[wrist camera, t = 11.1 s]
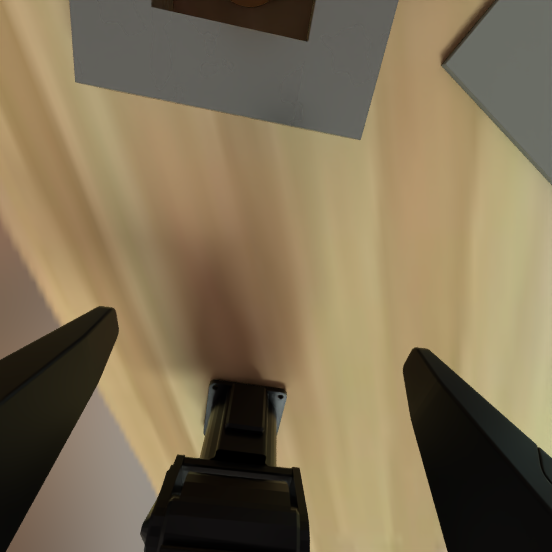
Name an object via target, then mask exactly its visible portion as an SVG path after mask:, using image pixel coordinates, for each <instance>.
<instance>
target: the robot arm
mask: <svg viewBox="0 0 552 552" xmlns="http://www.w3.org/2000/svg"><path fill="white" fill-rule="evenodd" d="M118 332H119V327H118V321H117V315H116V310H115V309H114V308H112V307H104V306H99V307H97V308H95V309H93V310H91V311H89V312H87V313H86V314H84V315H82V316H80V317H78V318H76V319H75V320H73V321H71V322H69V323H67V324H65V325H63V326H62V327H60V328H58V329H56V330H54V331H52V332H51V333H49V334H47V335H45V336H43V337H41V338H40V339H38V340H36V341H34V342H32V343H30V344H29V345H27V346H25V347H23V348H21V349H19V350H17V351H16V352H14V353H12V354H10V355H8V356H6V357H5V358H3V359H1V360H0V552H6V550H7V548H8V547H9V545H10V543H11V541H12V539H13V538H14V536H15V534H16V532H17V530H18V528H19V527H20V525H21V523H22V521H23V519H24V518H25V516H26V514H27V512H28V510H29V508H30V507H31V505H32V503H33V501H34V499H35V497H36V496H37V494H38V492H39V490H40V488H41V487H42V485H43V483H44V481H45V479H46V477H47V476H48V474H49V472H50V470H51V468H52V467H53V465H54V463H55V461H56V459H57V458H58V456H59V454H60V452H61V450H62V448H63V446H64V445H65V443H66V441H67V439H68V438H69V436H70V434H71V432H72V430H73V428H74V427H75V425H76V423H77V421H78V419H79V417H80V416H81V414H82V412H83V410H84V408H85V407H86V405H87V403H88V401H89V399H90V397H91V396H92V394H93V392H94V390H95V388H96V386H97V384H98V382H99V380H100V378H101V376H102V373H103V371H104V368H105V366H106V363H107V361H108V358H109V356H110V354H111V351H112V349H113V346H114V344H115V341H116V339H117V336H118ZM403 376H404V382H405V388H406V394H407V400H408V406H409V412H410V417H411V421H412V425H413V429H414V433H415V436H416V440H417V443H418V447H419V451H420V454H421V458H422V461H423V465H424V469H425V472H426V476H427V479H428V483H429V486H430V490H431V494H432V497H433V501H434V504H435V508H436V512H437V515H438V519H439V522H440V526H441V530H442V533H443V537H444V540H445V544H446V548H447V551H448V552H552V458H551V457H550V456H549V455H548V454H547V453H546V452H544V451H543V450H542V449H541V448H539V447H537V445H536V444H535V443H534V442H533V441H532V440H531V439H530V438H528V437H527V436H526V435H525V434H524V433H523V432H522V431H521V430H519V429H518V428H517V427H516V426H515V425H514V424H513V423H511V422H510V421H509V420H508V419H507V418H506V417H505V416H504V415H502V414H501V413H500V412H499V411H498V410H497V409H496V408H495V407H493V406H492V405H491V404H490V403H489V402H488V401H487V400H485V399H484V398H483V397H482V396H481V395H480V394H479V393H478V392H476V391H475V390H474V389H473V388H472V387H471V386H470V385H468V384H467V383H466V382H465V381H464V380H463V379H462V378H461V377H459V376H458V375H457V374H456V373H455V372H454V371H453V370H452V369H450V368H449V367H448V366H447V365H446V364H445V363H444V362H442V361H441V360H440V359H439V358H438V357H437V356H436V355H435V354H433V353H432V352H431V351H430V350H428V349H426V348H418V347H416V348H413V349H412V351H411V353H410V354H409V356H408V358H407V360H406V362H405V363H404V366H403ZM214 385H216V386H214ZM280 395H282V396H280ZM286 398H287V392H286V391H285V390H284V389H279V388H272V387H265V386H258V385H251V384H244V383H237V382H230V381H223V380H212V381H211V382H210V386H209V392H208V400H207V408H206V416H205V425H204V435H205V438H204V442H203V447H202V451H201V455H200V458H192V457H185V455H177V457H176V459H175V462H174V464H173V465H171V467H170V469H169V470H168V471H167V473H166V476H165V479H164V482H163V485H162V488H161V491H160V493H159V496H158V498H157V500H156V502H155V503H154V505H153V507H152V508H151V510H150V512H149V514H148V515H147V517H146V519H145V521H144V522H143V525H142V528H141V533H140V535H141V537H142V539H143V541H144V544H145V548H144V552H310V532H309V520H308V513H307V507H306V502H305V496H304V490H303V485H302V479H301V473H300V468H297V467H292V468H283V467H276V436H277V432H278V429H279V425H280V421H281V417H282V413H283V410H284V406H285V402H286Z"/></svg>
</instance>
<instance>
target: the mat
mask: <svg viewBox="0 0 552 552" xmlns="http://www.w3.org/2000/svg"><path fill="white" fill-rule="evenodd" d="M441 66H442V67H443V68H444V69H445V70H446V71H447V72H448V73H449V74H450V76H451V77H452V78H453V79H454V80H455V81H456V82H457V83H458V84H459V85H460V86H461V87H462V89H463V90H464V91H465V92H466V93H467V94H468V95H469V96H470V97H471V98H472V99H473V100H474V101H475V103H476V104H477V105H478V106H479V107H480V108H481V109H482V110H483V111H484V112H485V113H486V114H487V116H488V117H489V118H490V119H491V120H492V121H493V122H494V123H495V124H496V125H497V126H498V127H499V128H500V130H501V131H502V132H503V133H504V134H505V135H506V136H507V137H508V138H509V139H510V140H511V141H512V143H513V144H514V145H515V146H516V147H517V148H518V149H519V150H520V151H521V152H522V153H523V154H524V156H525V157H526V158H527V159H528V160H529V161H530V162H531V163H532V164H533V165H534V166H535V167H536V168H537V170H538V171H539V172H540V173H541V174H542V175H543V176H544V177H545V178H546V179H547V180H548V181H549V183H550V184H551V185H552V0H495V1H494V3H493V4H492V5H491V6H490V8H489V9H488V10H487V11H486V12H485V14H484V15H483V16H482V17H481V18H480V20H479V21H478V22H477V23H476V24H475V26H474V27H473V28H472V29H471V30H470V32H469V33H468V34H467V35H466V36H465V38H464V39H463V40H462V41H461V42H460V44H459V45H458V46H457V47H456V48H455V50H454V51H453V52H452V53H451V54H450V56H449V57H448V58H447V59H446V61H445V62H444V63H443V64H442V65H441Z"/></svg>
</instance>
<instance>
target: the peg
mask: <svg viewBox="0 0 552 552" xmlns="http://www.w3.org/2000/svg"><path fill="white" fill-rule="evenodd" d="M230 1H232V2H234V3H235V4H237V5H240V6H244V7H256V6H260V5H263V4H265V3H267V2H268V1H269V0H230Z"/></svg>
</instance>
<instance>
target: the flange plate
mask: <svg viewBox="0 0 552 552" xmlns="http://www.w3.org/2000/svg"><path fill="white" fill-rule="evenodd" d="M69 2H70V16H71V30H72V44H73V57H74V71H75V82H77V83H81V84H86V85H90V86H95V87H99V88H104V89H109V90H114V91H119V92H124V93H128V94H133V95H138V96H143V97H148V98H153V99H158V100H163V101H168V102H173V103H178V104H183V105H188V106H193V107H198V108H203V109H208V110H212V111H217V112H222V113H227V114H232V115H237V116H242V117H247V118H252V119H257V120H262V121H267V122H272V123H277V124H282V125H287V126H292V127H297V128H301V129H306V130H311V131H316V132H321V133H326V134H331V135H336V136H341V137H346V138H351V139H358V140H361V137H362V133H363V129H364V126H365V122H366V118H367V115H368V111H369V107H370V104H371V100H372V96H373V92H374V89H375V85H376V81H377V78H378V74H379V70H380V67H381V63H382V59H383V56H384V52H385V48H386V45H387V41H388V37H389V34H390V30H391V26H392V23H393V19H394V15H395V11H396V8H397V4H398V0H313V6H312V11H311V17H310V22H309V28H308V33H307V39H306V41H302V40H298V39H293V38H289V37H284V36H280V35H275V34H271V33H266V32H262V31H257V30H253V29H248V28H244V27H239V26H235V25H230V24H226V23H221V22H217V21H212V20H208V19H203V18H199V17H194V16H190V15H185V14H181V13H176V12H173V0H69Z"/></svg>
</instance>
